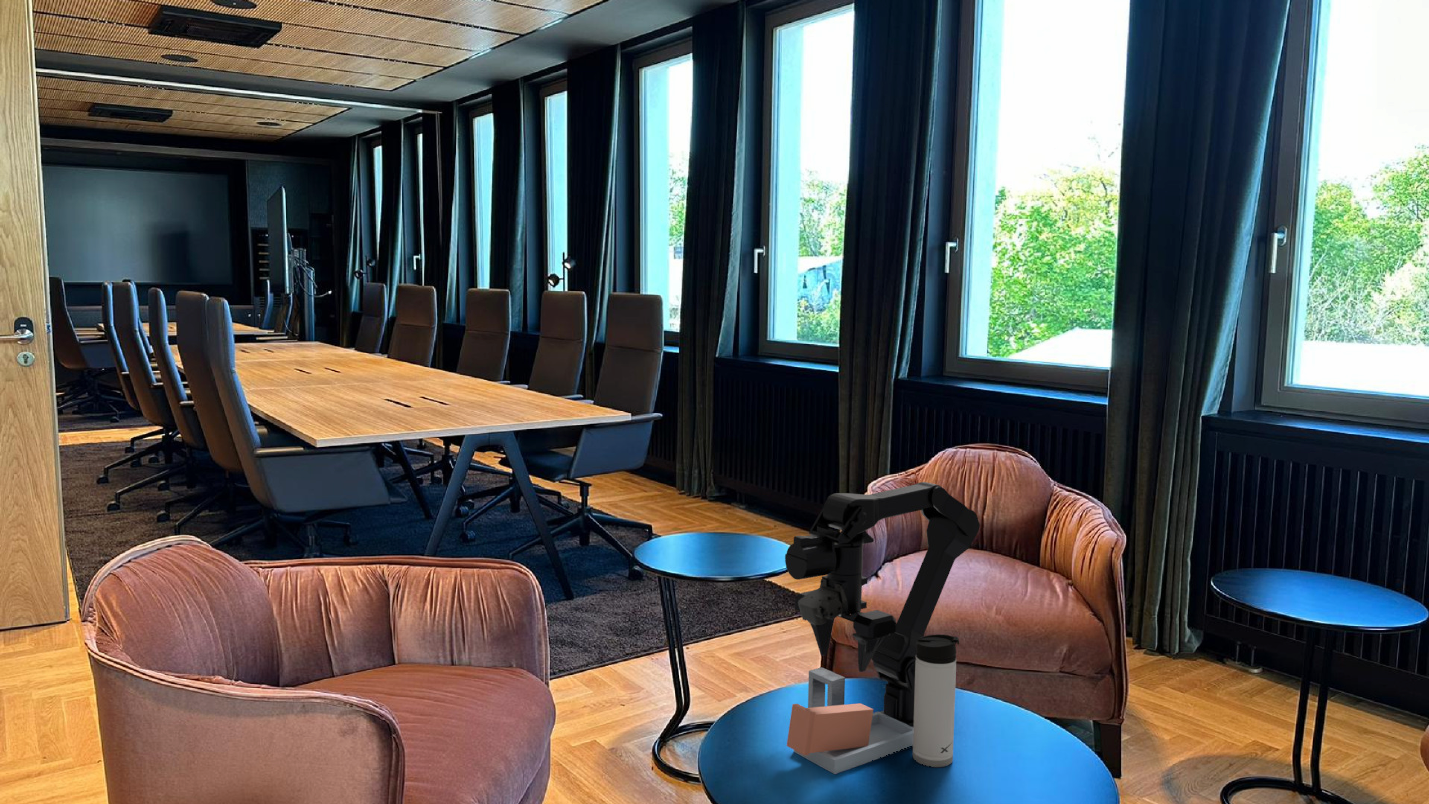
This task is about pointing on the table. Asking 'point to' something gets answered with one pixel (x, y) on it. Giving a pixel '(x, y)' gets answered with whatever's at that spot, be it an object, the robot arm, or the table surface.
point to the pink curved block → (829, 728)
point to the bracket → (818, 688)
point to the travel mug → (934, 700)
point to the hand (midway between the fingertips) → (842, 663)
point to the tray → (882, 741)
